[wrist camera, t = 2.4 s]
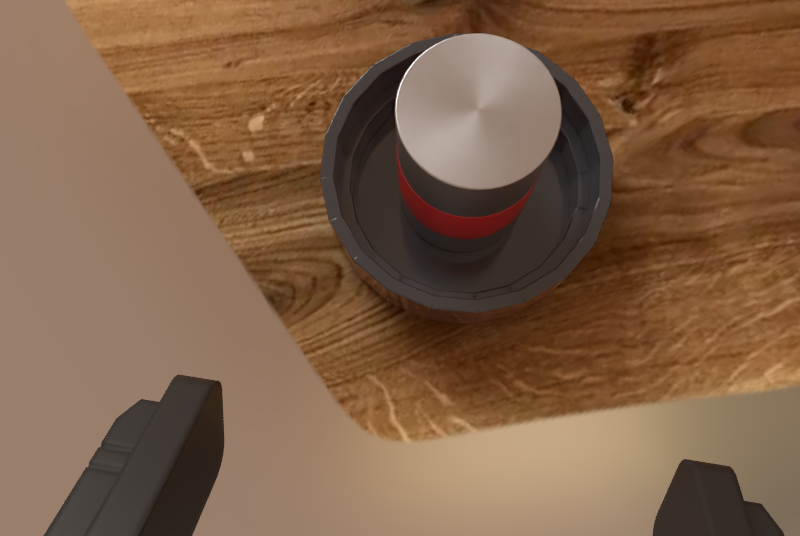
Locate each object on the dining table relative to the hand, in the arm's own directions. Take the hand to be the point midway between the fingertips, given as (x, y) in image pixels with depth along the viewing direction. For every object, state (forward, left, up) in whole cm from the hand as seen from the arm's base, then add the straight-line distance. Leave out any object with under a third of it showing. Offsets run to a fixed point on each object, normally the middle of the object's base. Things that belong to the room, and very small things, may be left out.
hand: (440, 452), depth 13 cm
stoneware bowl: (+8, +9, -22) cm, 25 cm away
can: (+8, +9, -22) cm, 25 cm away
